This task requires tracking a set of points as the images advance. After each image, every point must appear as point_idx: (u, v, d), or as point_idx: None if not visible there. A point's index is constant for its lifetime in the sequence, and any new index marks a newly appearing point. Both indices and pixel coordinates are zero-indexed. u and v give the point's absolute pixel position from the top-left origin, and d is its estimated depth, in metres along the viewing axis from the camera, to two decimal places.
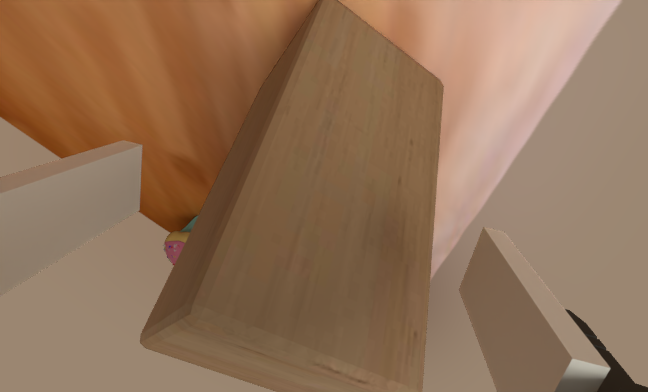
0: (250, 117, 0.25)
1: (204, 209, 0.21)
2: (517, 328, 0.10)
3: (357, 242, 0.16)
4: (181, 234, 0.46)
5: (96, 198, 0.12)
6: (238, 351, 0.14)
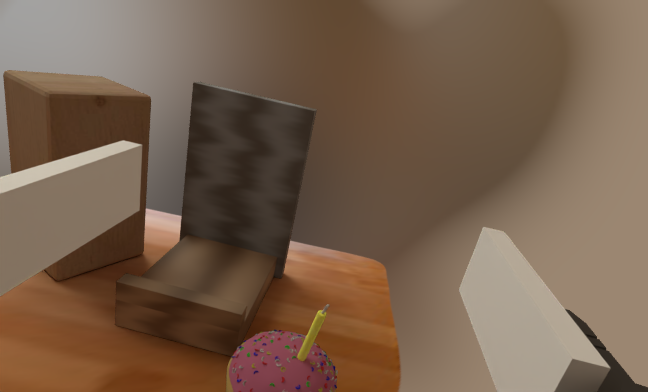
0: None
1: (40, 164, 0.37)
2: (517, 328, 0.10)
3: None
4: (226, 378, 0.29)
5: (96, 198, 0.12)
6: (41, 75, 0.39)
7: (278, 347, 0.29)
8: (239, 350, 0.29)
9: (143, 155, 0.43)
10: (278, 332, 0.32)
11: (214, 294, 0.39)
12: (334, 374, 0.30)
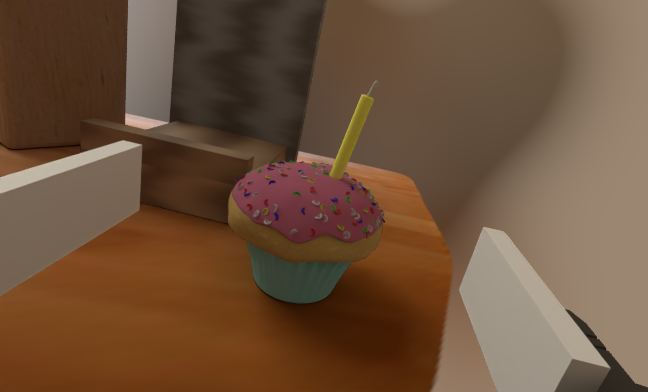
0: None
1: None
2: (517, 328, 0.10)
3: None
4: (228, 207, 0.20)
5: (96, 198, 0.12)
6: None
7: (302, 165, 0.20)
8: (246, 174, 0.21)
9: (121, 1, 0.34)
10: None
11: None
12: (379, 210, 0.21)
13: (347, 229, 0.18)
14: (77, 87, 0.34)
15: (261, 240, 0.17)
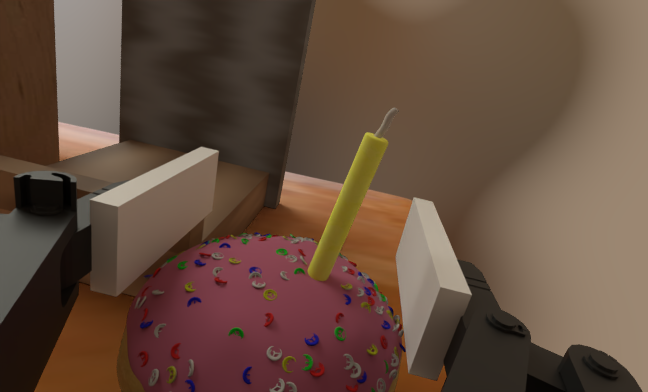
0: None
1: None
2: (419, 275, 0.11)
3: None
4: None
5: (188, 200, 0.14)
6: None
7: (260, 251, 0.12)
8: (166, 263, 0.12)
9: None
10: (263, 236, 0.14)
11: None
12: (395, 321, 0.13)
13: None
14: None
15: None
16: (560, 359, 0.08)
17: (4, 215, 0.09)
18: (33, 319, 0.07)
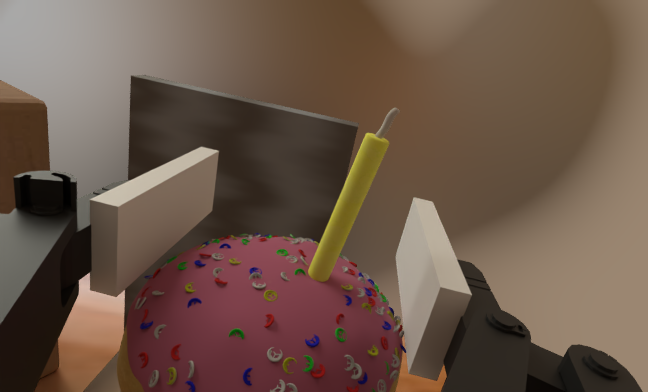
0: None
1: None
2: (419, 275, 0.11)
3: None
4: None
5: (188, 200, 0.14)
6: None
7: (260, 252, 0.12)
8: (166, 264, 0.12)
9: None
10: (263, 236, 0.14)
11: None
12: (395, 322, 0.12)
13: None
14: None
15: None
16: (560, 359, 0.08)
17: (4, 215, 0.09)
18: (33, 319, 0.07)
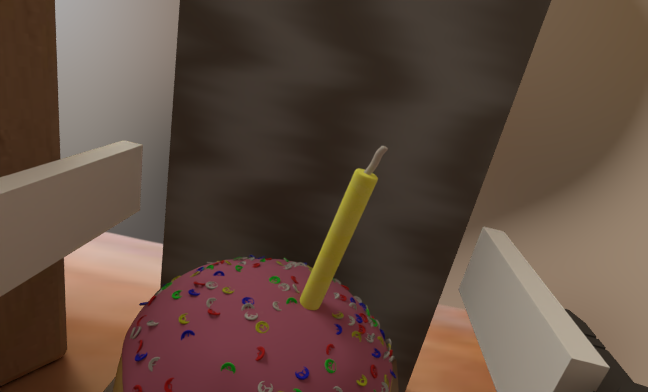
0: None
1: None
2: (517, 328, 0.10)
3: None
4: None
5: (96, 198, 0.12)
6: None
7: (253, 279, 0.12)
8: (161, 290, 0.12)
9: (39, 95, 0.14)
10: (257, 259, 0.14)
11: None
12: (386, 346, 0.13)
13: None
14: None
15: None
16: None
17: None
18: None
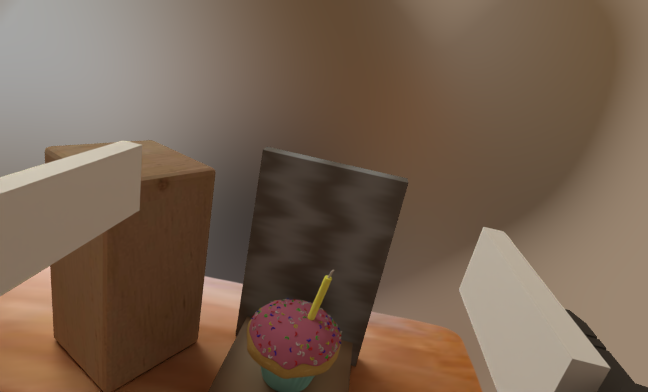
0: (86, 327, 0.33)
1: (91, 263, 0.30)
2: (517, 328, 0.10)
3: None
4: None
5: (96, 198, 0.12)
6: (89, 149, 0.33)
7: (291, 309, 0.34)
8: (257, 313, 0.34)
9: (204, 235, 0.36)
10: (290, 300, 0.36)
11: None
12: (339, 333, 0.35)
13: (315, 358, 0.31)
14: (164, 320, 0.36)
15: (267, 365, 0.31)
16: None
17: None
18: None
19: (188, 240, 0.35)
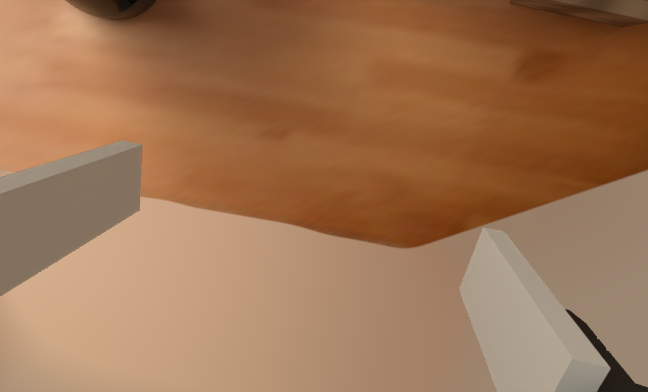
0: None
1: None
2: (517, 328, 0.10)
3: None
4: None
5: (96, 198, 0.12)
6: None
7: None
8: None
9: None
10: None
11: None
12: None
13: None
14: None
15: None
16: None
17: None
18: None
19: None
